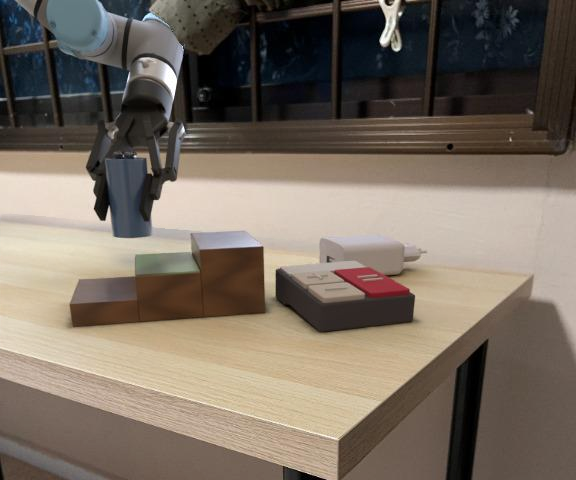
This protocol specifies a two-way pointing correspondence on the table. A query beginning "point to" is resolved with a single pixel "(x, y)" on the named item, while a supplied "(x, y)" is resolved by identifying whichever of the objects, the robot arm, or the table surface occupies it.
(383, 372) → the table surface
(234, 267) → the step shelf
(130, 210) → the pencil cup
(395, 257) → the charger
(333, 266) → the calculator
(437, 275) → the table surface
